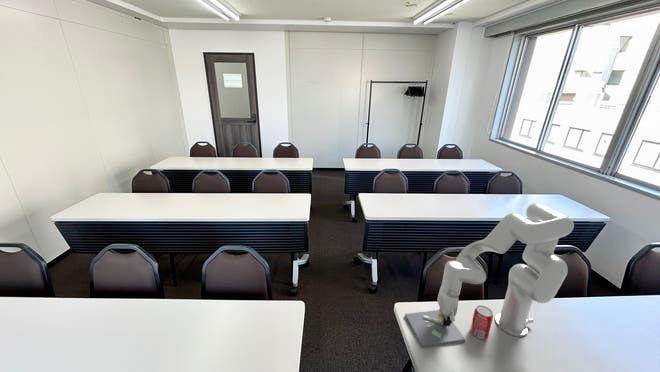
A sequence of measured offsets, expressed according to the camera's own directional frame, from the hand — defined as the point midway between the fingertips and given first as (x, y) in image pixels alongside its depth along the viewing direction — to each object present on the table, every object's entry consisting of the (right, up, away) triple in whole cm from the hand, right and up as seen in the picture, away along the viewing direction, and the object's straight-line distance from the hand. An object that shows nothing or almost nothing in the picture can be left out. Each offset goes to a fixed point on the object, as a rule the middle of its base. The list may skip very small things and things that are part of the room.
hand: (444, 320), depth 120 cm
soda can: (+15, -5, -2) cm, 16 cm away
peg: (-3, -1, +2) cm, 3 cm away
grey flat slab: (-5, -4, 0) cm, 6 cm away
